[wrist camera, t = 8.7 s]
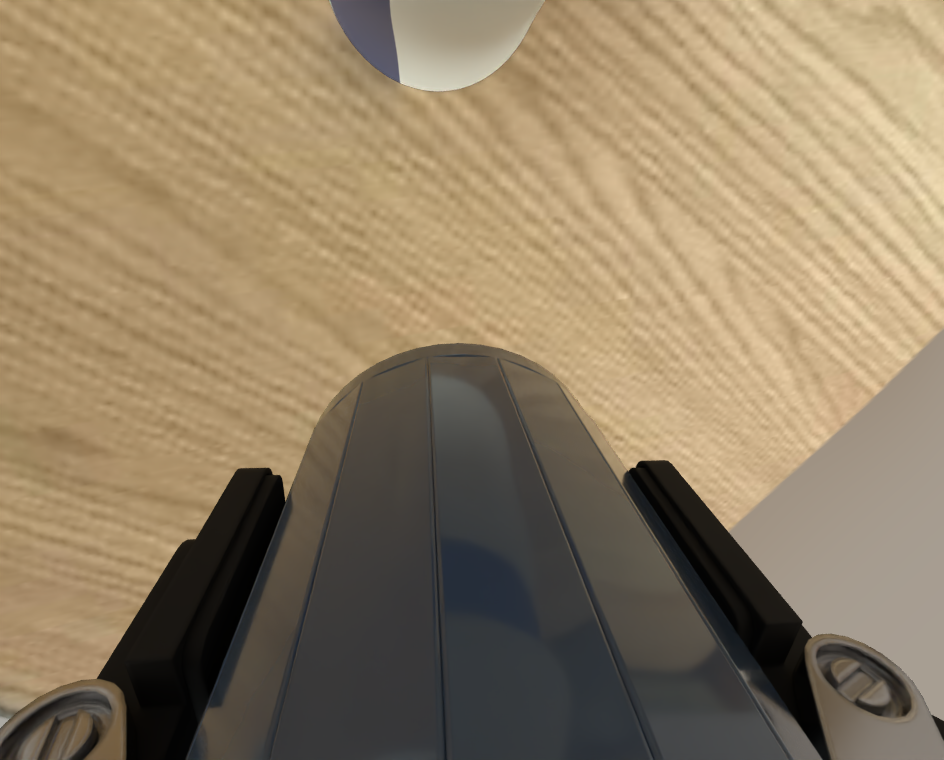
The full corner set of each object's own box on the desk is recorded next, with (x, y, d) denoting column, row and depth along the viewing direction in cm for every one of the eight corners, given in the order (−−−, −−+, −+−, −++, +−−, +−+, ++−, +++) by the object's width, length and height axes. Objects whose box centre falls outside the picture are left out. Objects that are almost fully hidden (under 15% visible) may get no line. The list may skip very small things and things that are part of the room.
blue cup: (291, 340, 10) (-183, 1003, 2) (616, 343, 11) (1150, 840, 3) (319, 589, 13) (160, 1270, 5) (574, 577, 13) (789, 1152, 6)
